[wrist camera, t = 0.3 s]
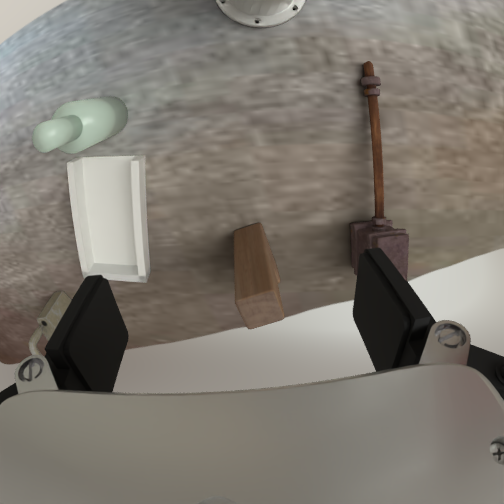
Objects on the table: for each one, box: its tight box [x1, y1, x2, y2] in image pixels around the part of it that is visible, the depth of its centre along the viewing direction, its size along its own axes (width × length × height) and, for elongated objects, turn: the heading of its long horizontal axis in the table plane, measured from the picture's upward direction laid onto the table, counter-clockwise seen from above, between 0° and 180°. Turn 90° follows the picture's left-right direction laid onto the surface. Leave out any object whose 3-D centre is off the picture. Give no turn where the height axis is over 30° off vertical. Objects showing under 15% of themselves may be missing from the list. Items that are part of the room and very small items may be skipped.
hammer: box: [350, 61, 409, 281], centre depth 43 cm, size 7×33×10 cm, turn 6°
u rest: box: [67, 155, 151, 282], centre depth 46 cm, size 20×11×3 cm, turn 175°
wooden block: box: [234, 223, 284, 329], centre depth 44 cm, size 9×4×18 cm, turn 19°
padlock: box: [29, 291, 72, 355], centre depth 49 cm, size 4×8×15 cm, turn 12°
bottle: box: [32, 96, 128, 154], centre depth 32 cm, size 6×6×18 cm
